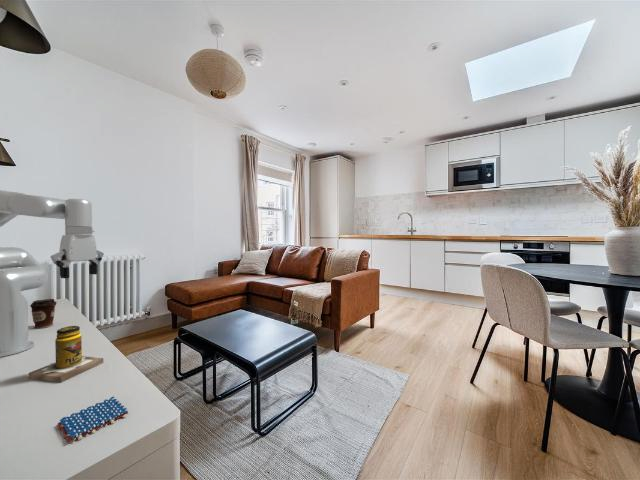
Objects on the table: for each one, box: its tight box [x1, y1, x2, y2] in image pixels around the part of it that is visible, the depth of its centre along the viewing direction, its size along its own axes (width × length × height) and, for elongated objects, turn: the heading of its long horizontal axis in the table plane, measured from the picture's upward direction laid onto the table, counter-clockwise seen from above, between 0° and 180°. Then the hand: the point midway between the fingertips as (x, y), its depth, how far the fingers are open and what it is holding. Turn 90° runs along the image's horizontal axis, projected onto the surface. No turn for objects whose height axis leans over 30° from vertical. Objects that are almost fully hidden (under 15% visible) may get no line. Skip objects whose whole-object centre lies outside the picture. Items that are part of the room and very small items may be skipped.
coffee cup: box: [29, 298, 57, 329], centre depth 123 cm, size 9×8×13 cm
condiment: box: [43, 325, 85, 374], centre depth 82 cm, size 7×8×12 cm
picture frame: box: [27, 355, 104, 383], centre depth 82 cm, size 13×12×2 cm
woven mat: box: [57, 396, 129, 445], centre depth 59 cm, size 10×11×2 cm
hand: (79, 276), depth 97 cm, fingers open, 9 cm apart
